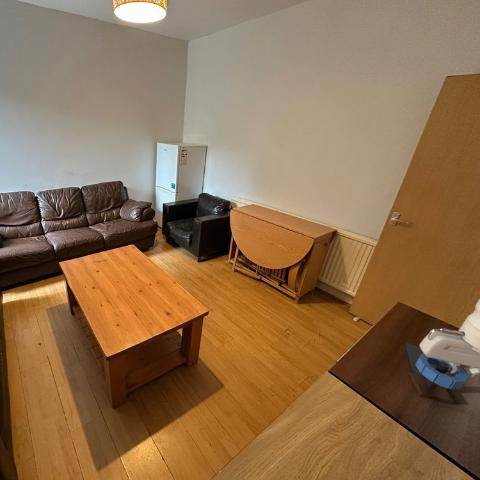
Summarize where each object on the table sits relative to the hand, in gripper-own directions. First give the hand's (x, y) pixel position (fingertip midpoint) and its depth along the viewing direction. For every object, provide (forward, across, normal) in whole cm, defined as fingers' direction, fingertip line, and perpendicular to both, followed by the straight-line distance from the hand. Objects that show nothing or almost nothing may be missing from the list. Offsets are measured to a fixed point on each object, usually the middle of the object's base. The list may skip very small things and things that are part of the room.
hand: (459, 373), depth 69 cm
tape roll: (+2, -4, 0) cm, 4 cm away
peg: (+8, -4, 0) cm, 9 cm away
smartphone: (+9, -1, +11) cm, 14 cm away
